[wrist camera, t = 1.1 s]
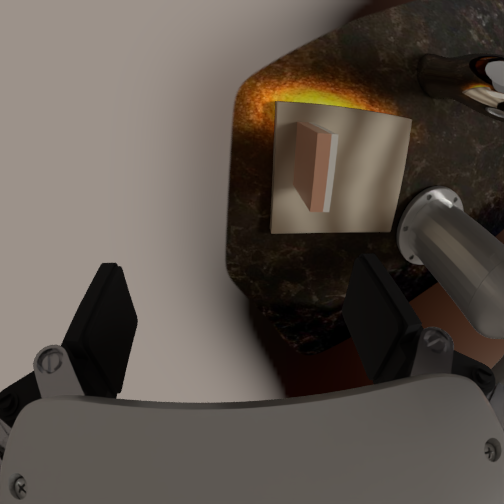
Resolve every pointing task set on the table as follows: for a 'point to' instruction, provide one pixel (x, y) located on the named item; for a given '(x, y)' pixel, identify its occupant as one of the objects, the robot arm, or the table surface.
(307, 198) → the tile
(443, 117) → the table surface
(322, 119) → the board
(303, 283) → the table surface
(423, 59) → the beer glass
